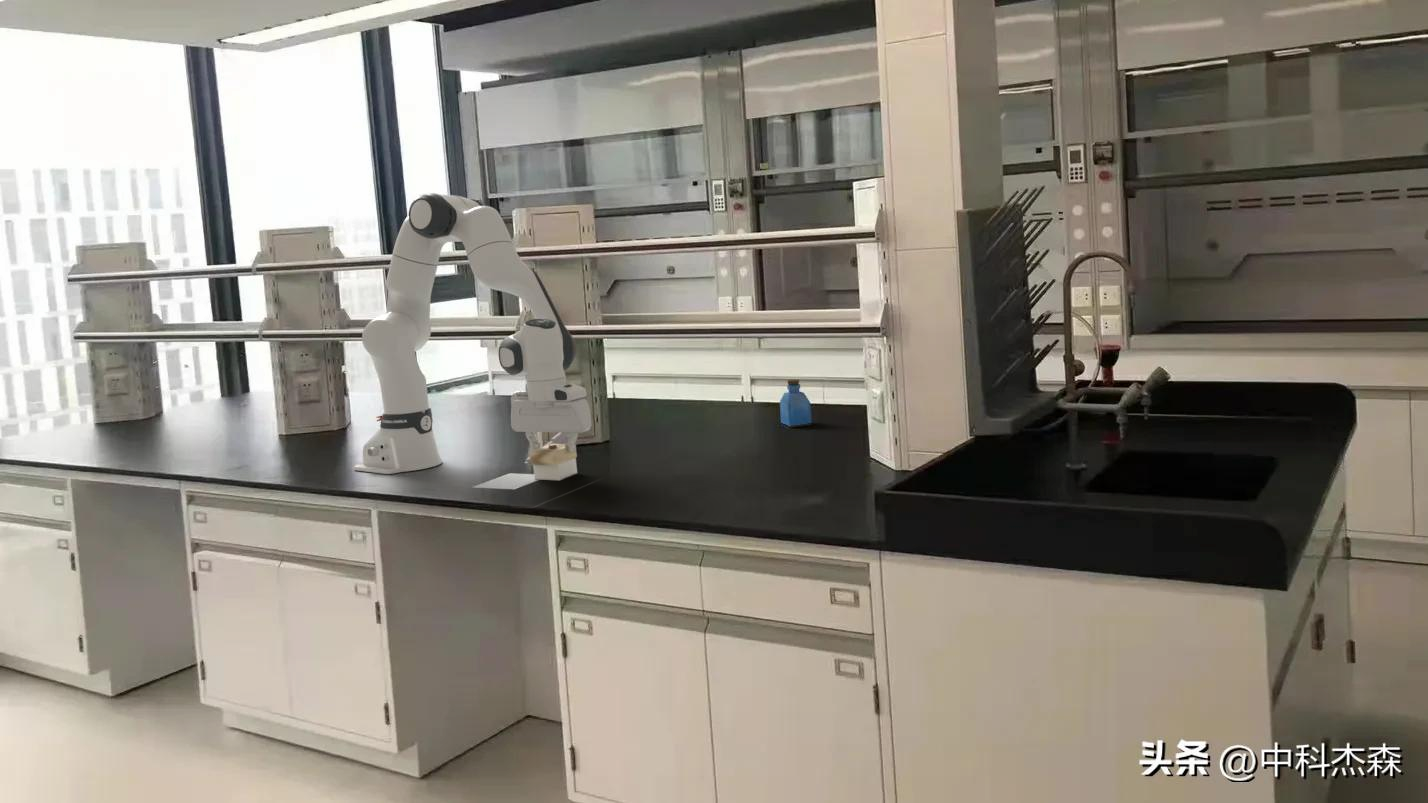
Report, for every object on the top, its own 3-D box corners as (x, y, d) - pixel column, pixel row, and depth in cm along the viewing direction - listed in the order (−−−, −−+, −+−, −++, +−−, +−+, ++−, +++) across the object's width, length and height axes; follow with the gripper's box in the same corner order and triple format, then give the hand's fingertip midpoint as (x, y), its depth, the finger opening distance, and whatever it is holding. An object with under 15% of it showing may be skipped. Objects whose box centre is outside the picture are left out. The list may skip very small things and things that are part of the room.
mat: (471, 489, 269) (471, 487, 269) (509, 475, 281) (509, 473, 281) (514, 491, 264) (514, 489, 263) (551, 476, 276) (551, 474, 276)
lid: (530, 464, 271) (529, 449, 270) (553, 456, 279) (552, 441, 278) (554, 465, 268) (552, 449, 267) (576, 457, 276) (575, 441, 275)
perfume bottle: (781, 425, 319) (778, 380, 317) (802, 422, 321) (799, 377, 319) (789, 428, 313) (786, 382, 311) (811, 425, 315) (808, 380, 313)
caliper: (566, 448, 311) (564, 424, 310) (570, 448, 310) (568, 424, 309) (523, 466, 292) (520, 440, 291) (527, 466, 292) (524, 440, 291)
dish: (534, 480, 272) (532, 463, 272) (552, 473, 279) (550, 457, 278) (559, 481, 269) (558, 464, 269) (577, 474, 275) (575, 457, 275)
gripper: (501, 393, 273) (508, 452, 275) (576, 393, 263) (582, 454, 265) (518, 388, 278) (524, 447, 281) (592, 388, 269) (597, 449, 271)
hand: (553, 450), depth 273 cm, fingers open, 8 cm apart
